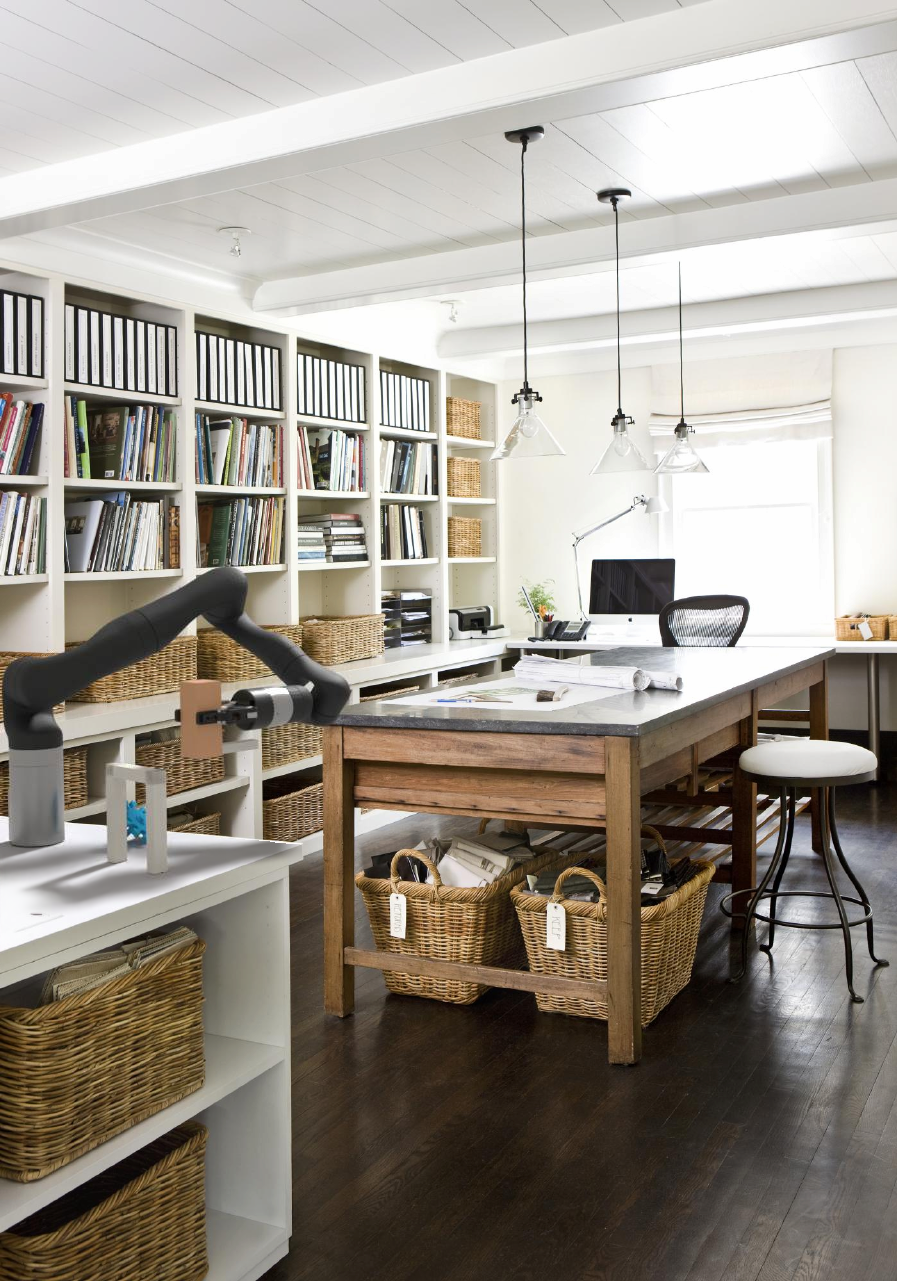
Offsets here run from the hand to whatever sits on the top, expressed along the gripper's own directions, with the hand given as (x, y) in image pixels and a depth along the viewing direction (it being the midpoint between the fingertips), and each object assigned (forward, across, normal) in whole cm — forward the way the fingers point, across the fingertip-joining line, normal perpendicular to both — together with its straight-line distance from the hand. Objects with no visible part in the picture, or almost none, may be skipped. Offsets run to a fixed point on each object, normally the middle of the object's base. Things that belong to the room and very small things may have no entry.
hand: (186, 717), depth 196 cm
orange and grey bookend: (-7, 0, -7) cm, 10 cm away
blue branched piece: (0, +15, -24) cm, 28 cm away
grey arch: (+11, 0, -24) cm, 26 cm away
